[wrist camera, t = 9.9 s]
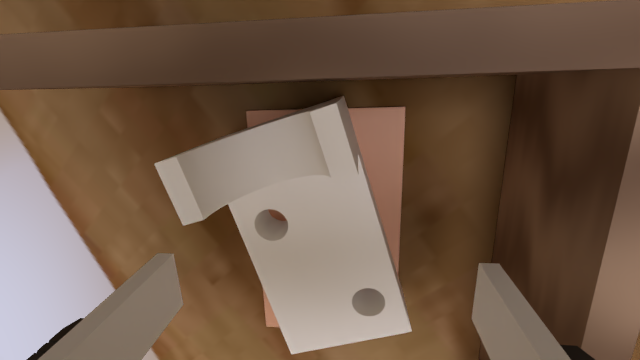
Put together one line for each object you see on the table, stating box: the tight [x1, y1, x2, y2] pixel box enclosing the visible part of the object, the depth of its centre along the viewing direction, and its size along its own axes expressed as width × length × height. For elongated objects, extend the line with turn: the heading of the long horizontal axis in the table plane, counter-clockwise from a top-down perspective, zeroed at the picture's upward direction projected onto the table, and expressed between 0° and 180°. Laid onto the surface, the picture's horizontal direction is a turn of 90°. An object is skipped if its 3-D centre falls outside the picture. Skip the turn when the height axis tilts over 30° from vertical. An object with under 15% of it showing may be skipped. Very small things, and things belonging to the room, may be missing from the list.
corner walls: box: [0, 0, 640, 360], centre depth 17 cm, size 25×23×8 cm
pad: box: [246, 107, 405, 327], centre depth 20 cm, size 15×9×1 cm, turn 2°
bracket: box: [154, 96, 412, 354], centre depth 16 cm, size 13×7×8 cm, turn 18°
